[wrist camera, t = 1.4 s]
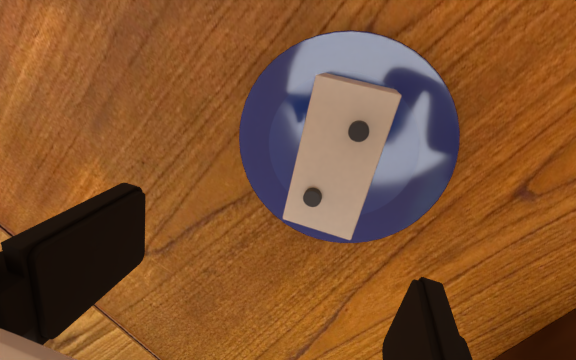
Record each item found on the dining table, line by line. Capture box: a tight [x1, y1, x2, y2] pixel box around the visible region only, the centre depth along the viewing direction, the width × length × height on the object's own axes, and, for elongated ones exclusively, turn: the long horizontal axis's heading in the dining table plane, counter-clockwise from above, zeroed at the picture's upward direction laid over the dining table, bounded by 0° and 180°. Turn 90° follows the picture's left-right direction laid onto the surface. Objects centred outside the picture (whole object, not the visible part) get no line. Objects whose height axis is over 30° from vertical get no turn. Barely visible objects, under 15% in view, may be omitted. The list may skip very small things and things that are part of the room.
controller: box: [283, 73, 401, 240], centre depth 21 cm, size 10×5×4 cm, turn 168°
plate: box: [239, 30, 460, 243], centre depth 23 cm, size 16×16×1 cm
